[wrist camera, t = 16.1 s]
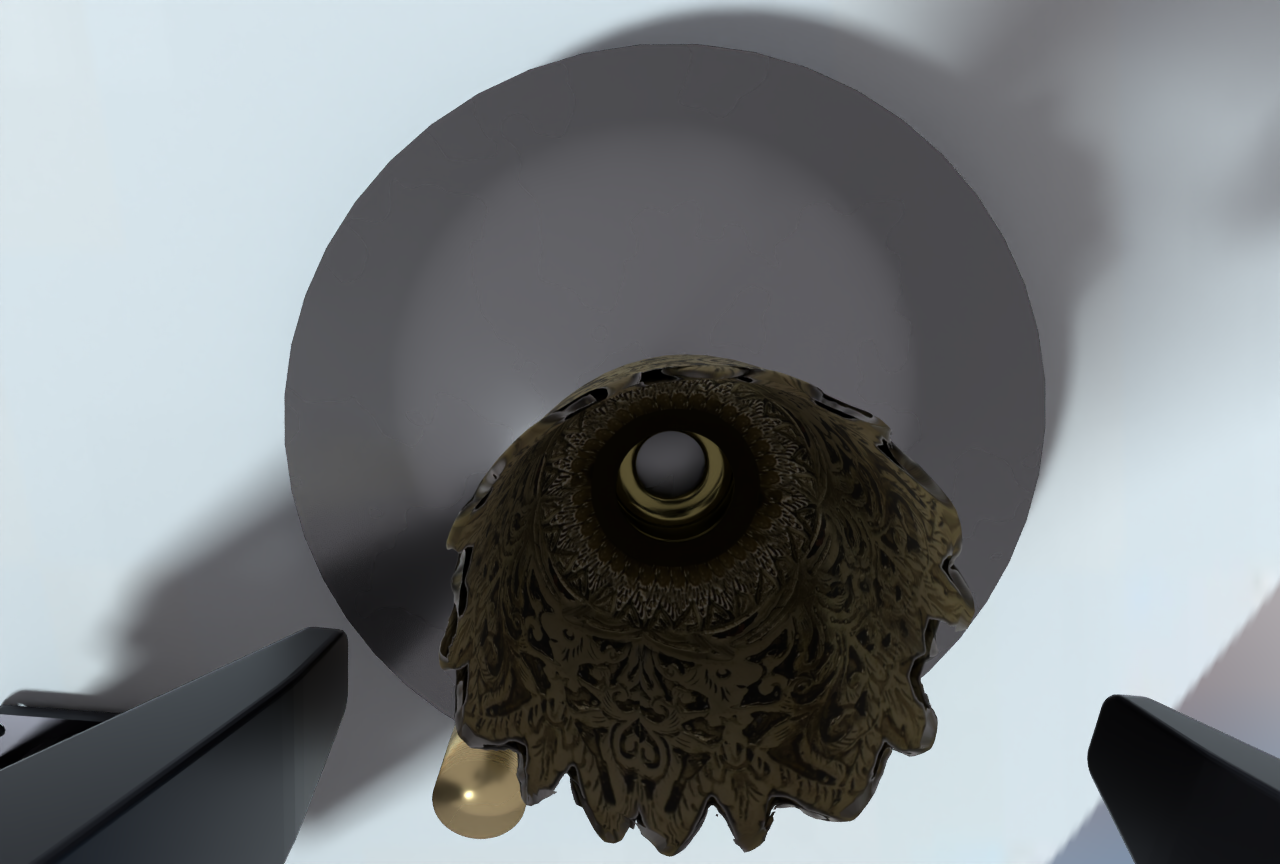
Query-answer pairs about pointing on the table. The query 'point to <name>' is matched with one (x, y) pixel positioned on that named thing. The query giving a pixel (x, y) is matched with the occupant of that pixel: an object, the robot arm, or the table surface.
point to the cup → (702, 603)
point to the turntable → (640, 320)
